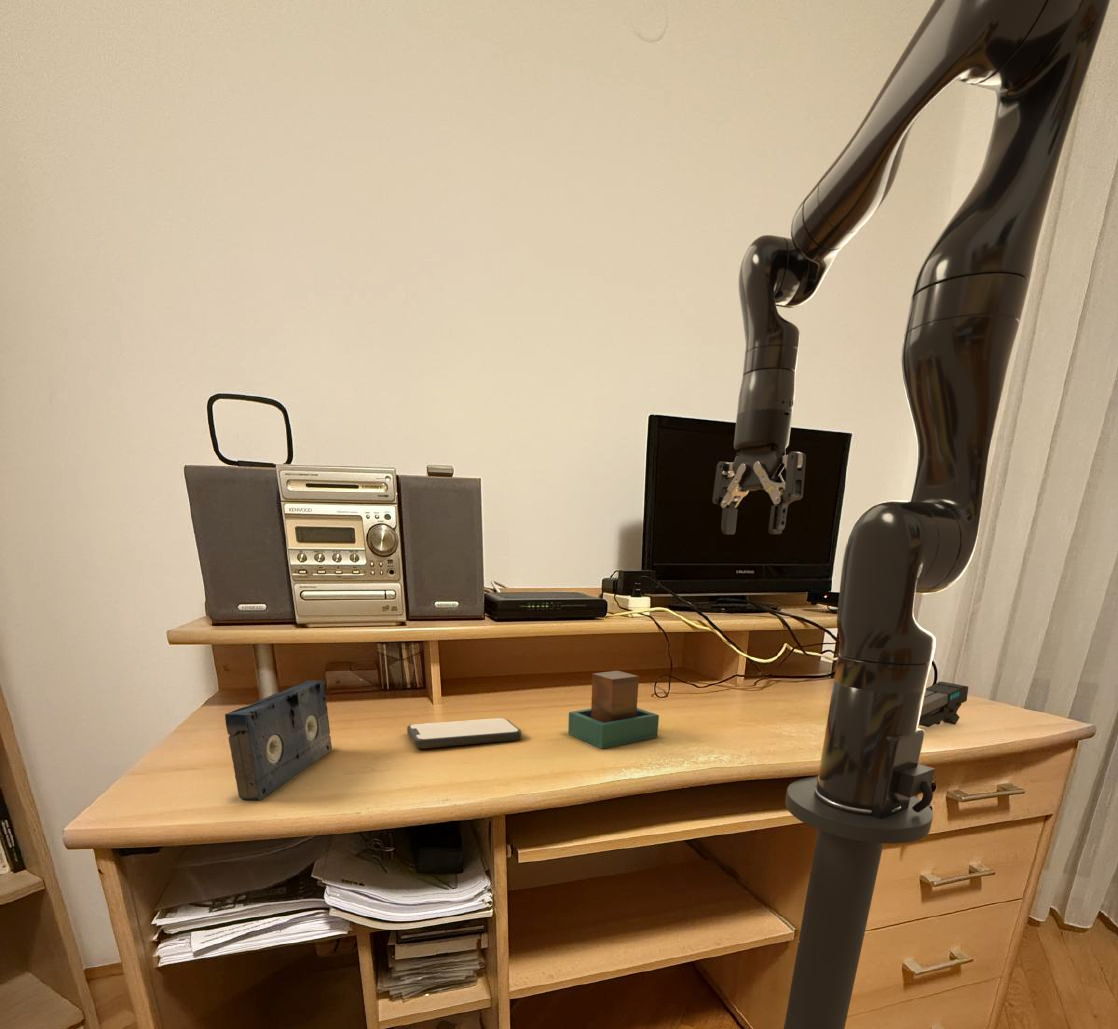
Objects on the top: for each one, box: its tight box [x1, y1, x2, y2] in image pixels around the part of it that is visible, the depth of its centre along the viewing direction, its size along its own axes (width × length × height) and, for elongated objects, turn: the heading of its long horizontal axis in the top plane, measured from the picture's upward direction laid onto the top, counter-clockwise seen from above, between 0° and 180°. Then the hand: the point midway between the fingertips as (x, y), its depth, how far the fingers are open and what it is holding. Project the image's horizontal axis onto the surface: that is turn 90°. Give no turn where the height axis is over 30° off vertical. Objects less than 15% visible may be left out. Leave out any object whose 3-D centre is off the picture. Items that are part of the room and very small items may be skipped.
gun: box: [918, 681, 969, 728], centre depth 97 cm, size 4×20×10 cm, turn 118°
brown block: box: [590, 670, 640, 723], centre depth 90 cm, size 5×5×9 cm
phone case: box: [406, 717, 522, 749], centre depth 89 cm, size 9×2×16 cm
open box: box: [567, 707, 660, 750], centre depth 91 cm, size 8×11×4 cm
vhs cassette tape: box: [224, 680, 333, 801], centre depth 73 cm, size 18×3×10 cm, turn 174°
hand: (750, 534), depth 88 cm, fingers open, 8 cm apart
